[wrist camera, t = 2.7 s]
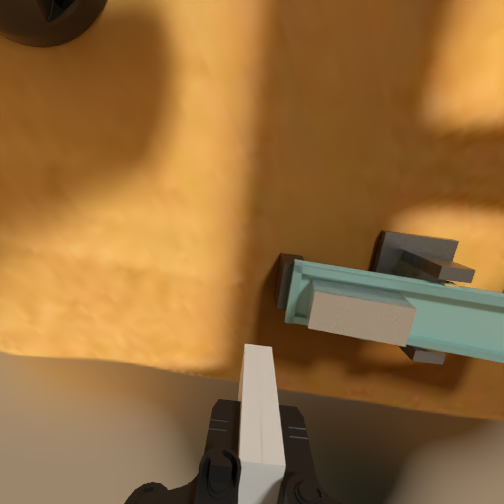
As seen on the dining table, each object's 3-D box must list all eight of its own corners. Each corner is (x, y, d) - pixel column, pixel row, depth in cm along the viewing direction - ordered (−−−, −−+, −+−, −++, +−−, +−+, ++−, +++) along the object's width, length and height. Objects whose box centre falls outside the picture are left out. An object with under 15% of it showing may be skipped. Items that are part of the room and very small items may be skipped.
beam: (295, 256, 26) (295, 260, 25) (620, 308, 23) (646, 317, 21) (284, 317, 28) (284, 325, 26) (587, 374, 25) (608, 387, 23)
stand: (286, 218, 29) (296, 227, 23) (544, 251, 30) (627, 270, 23) (269, 324, 32) (273, 361, 26) (503, 352, 33) (566, 394, 27)
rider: (312, 278, 25) (314, 291, 22) (399, 292, 25) (417, 309, 21) (305, 310, 26) (307, 328, 23) (390, 326, 25) (405, 346, 22)
